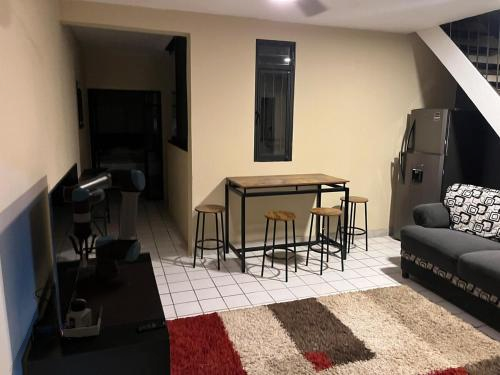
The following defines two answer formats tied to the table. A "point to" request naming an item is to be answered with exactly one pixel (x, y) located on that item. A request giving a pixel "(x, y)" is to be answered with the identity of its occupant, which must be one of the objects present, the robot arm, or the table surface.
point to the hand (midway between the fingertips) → (84, 266)
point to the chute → (84, 329)
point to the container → (79, 314)
